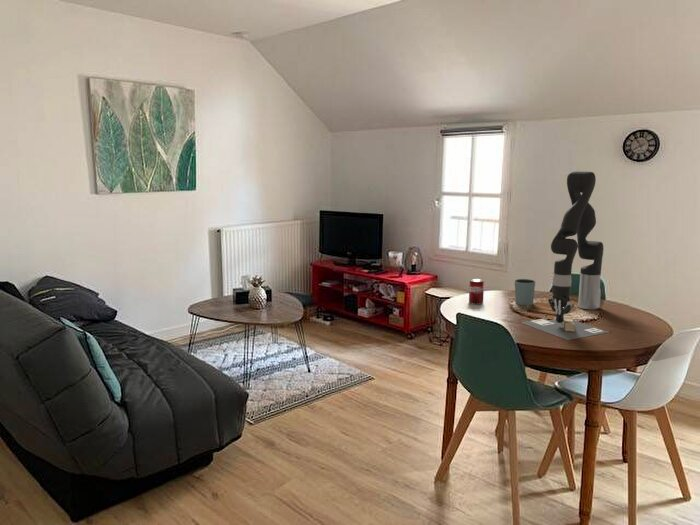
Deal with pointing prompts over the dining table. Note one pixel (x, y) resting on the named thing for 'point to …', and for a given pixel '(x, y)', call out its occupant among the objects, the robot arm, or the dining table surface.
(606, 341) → the dining table surface
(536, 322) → the label mat
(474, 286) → the soda can
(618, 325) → the dining table surface
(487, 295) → the dining table surface
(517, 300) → the teal cup
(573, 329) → the swing arm
